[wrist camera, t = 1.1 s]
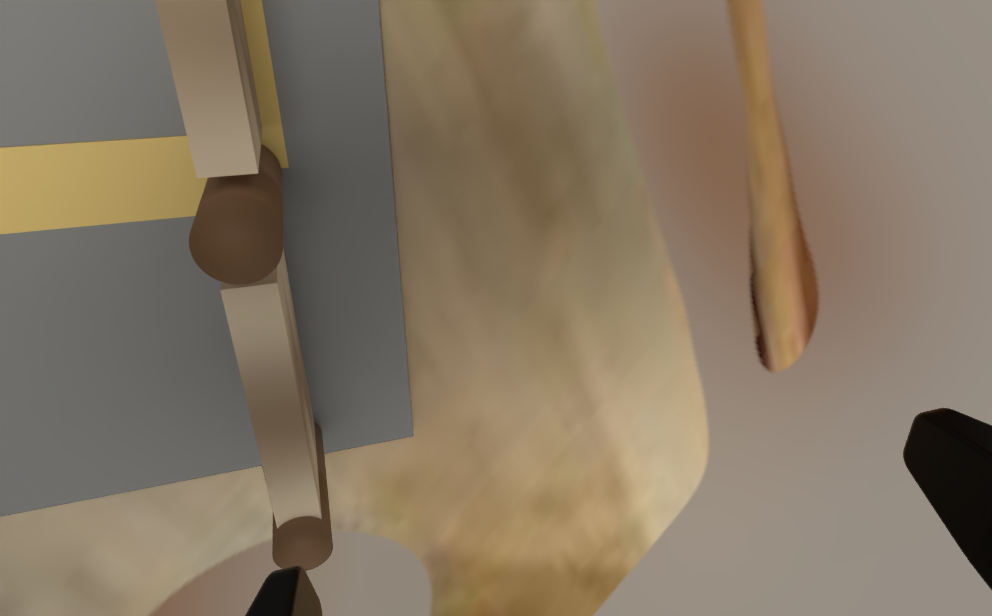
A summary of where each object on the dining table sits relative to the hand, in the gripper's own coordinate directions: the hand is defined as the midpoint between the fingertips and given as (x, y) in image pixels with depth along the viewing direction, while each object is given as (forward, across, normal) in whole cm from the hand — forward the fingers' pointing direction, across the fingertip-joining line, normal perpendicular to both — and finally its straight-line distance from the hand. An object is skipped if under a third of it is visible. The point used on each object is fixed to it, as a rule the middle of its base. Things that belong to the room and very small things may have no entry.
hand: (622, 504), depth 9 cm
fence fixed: (+13, +6, -5) cm, 15 cm away
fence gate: (+11, +7, +4) cm, 14 cm away
